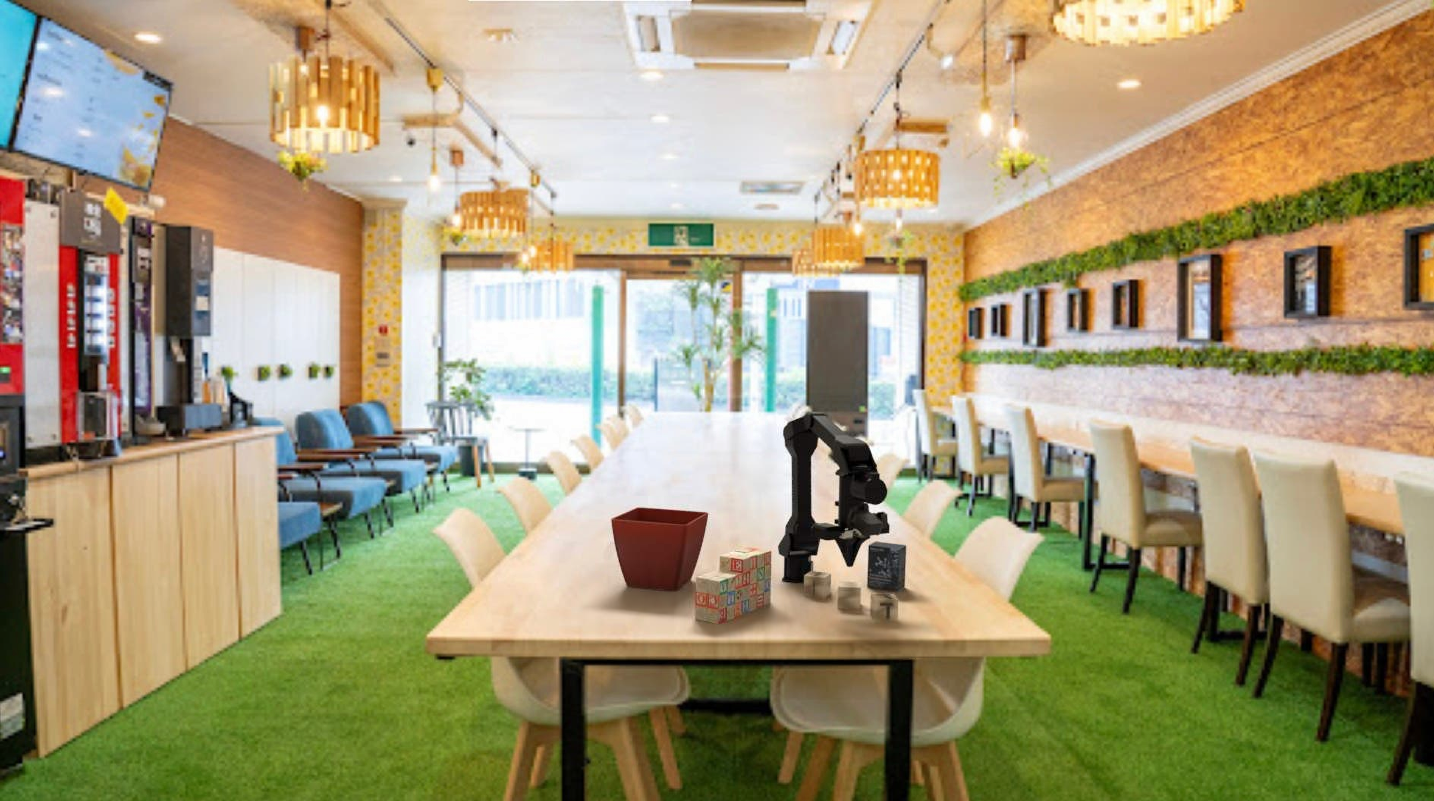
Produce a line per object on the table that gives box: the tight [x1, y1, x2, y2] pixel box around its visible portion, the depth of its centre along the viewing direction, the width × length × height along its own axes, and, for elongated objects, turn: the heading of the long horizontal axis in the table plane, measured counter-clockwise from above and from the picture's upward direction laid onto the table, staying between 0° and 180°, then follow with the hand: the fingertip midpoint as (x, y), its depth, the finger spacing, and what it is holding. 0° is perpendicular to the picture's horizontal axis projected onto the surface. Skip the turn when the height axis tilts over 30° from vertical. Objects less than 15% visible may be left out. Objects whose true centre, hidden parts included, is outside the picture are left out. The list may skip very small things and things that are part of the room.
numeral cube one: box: [803, 570, 832, 599], centre depth 224 cm, size 5×5×5 cm
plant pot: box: [610, 506, 709, 592], centre depth 232 cm, size 19×19×17 cm
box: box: [866, 540, 907, 593], centre depth 232 cm, size 8×6×11 cm
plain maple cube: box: [836, 580, 862, 611], centre depth 215 cm, size 5×5×5 cm
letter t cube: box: [869, 592, 899, 623], centre depth 205 cm, size 5×5×5 cm
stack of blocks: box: [694, 547, 772, 625], centre depth 209 cm, size 21×6×12 cm, turn 146°
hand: (849, 566), depth 214 cm, fingers closed
